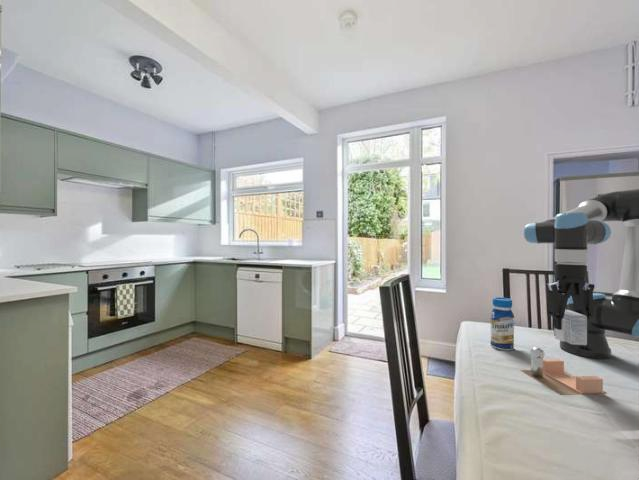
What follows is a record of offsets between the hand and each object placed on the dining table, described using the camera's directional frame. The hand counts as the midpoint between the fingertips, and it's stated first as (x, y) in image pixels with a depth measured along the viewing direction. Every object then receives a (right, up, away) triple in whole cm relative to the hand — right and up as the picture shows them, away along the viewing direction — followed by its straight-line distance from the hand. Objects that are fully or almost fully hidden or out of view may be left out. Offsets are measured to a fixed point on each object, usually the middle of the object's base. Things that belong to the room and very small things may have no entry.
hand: (569, 339), depth 88 cm
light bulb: (-7, -13, +4) cm, 15 cm away
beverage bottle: (-1, -14, +31) cm, 34 cm away
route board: (-3, -14, 0) cm, 14 cm away
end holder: (0, -13, 0) cm, 13 cm away
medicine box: (0, -1, 0) cm, 1 cm away
